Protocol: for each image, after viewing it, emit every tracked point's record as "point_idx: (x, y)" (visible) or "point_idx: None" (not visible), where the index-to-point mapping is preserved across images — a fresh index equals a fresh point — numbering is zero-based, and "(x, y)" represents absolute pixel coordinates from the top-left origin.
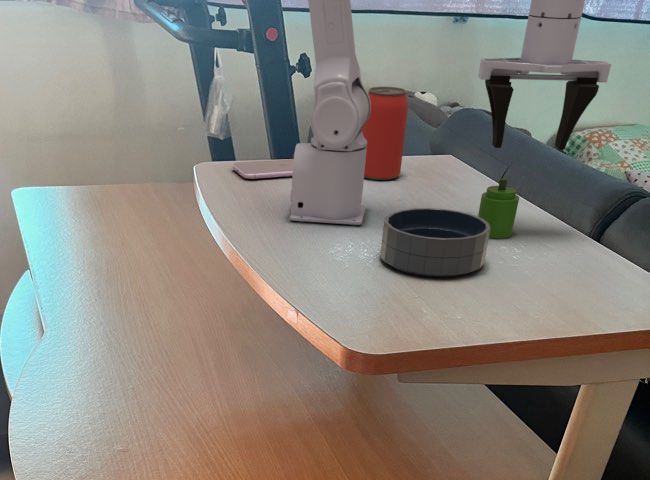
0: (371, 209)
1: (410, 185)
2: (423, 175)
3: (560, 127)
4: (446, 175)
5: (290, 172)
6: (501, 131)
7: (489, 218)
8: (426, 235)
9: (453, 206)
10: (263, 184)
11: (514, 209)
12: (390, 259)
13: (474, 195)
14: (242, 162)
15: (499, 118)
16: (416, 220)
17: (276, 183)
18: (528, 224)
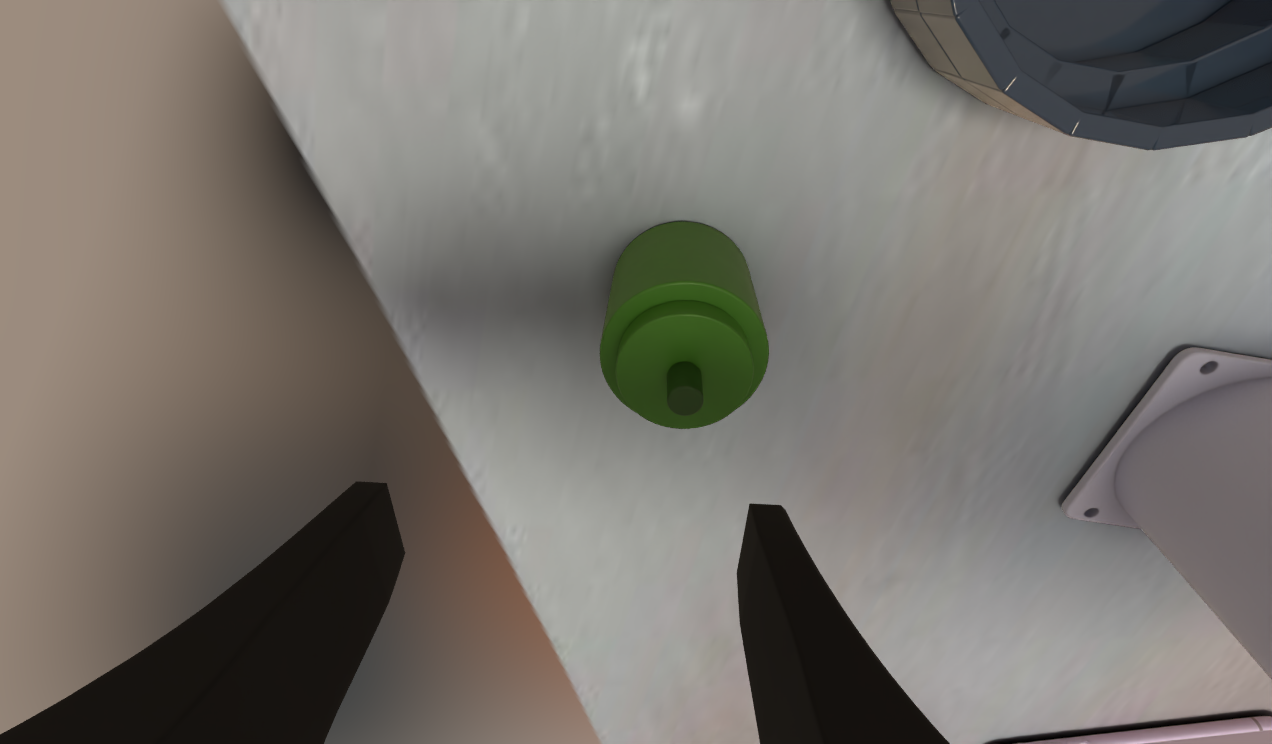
0: (1025, 510)
1: None
2: (737, 735)
3: (353, 637)
4: (676, 735)
5: (1134, 740)
6: (791, 572)
7: (732, 263)
8: (1100, 66)
9: (736, 538)
10: (1241, 688)
11: (626, 285)
12: None
13: (642, 617)
14: None
15: (852, 651)
16: (1189, 107)
17: (1195, 694)
18: (527, 386)
